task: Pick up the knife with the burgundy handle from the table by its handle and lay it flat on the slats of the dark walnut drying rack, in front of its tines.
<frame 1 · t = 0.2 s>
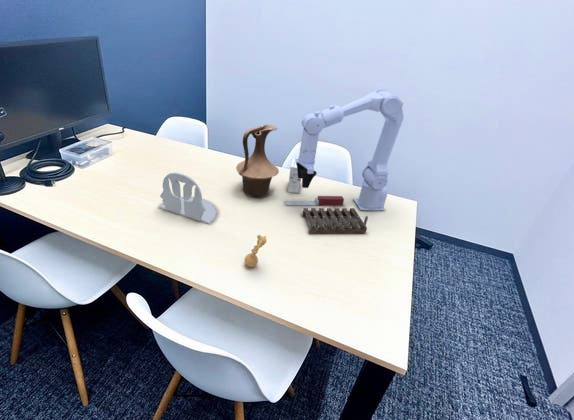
hand: (302, 182, 126), 10 cm above the table, tool pointing down, fingers open, 7 cm apart
drying rack: (332, 224, 121), on the table
pitcher: (255, 191, 139), on the table
ornament: (192, 208, 126), on the table
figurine: (253, 266, 100), on the table
knife: (329, 204, 133), on the table
ink cartridge box: (293, 188, 143), on the table
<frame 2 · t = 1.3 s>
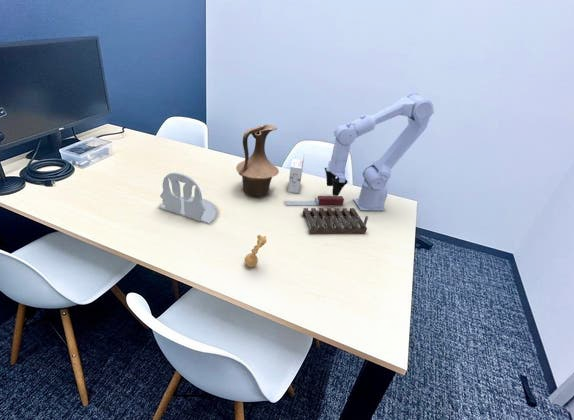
hand: (332, 190, 130), 6 cm above the table, tool pointing down, fingers open, 7 cm apart
nothing on the table moved.
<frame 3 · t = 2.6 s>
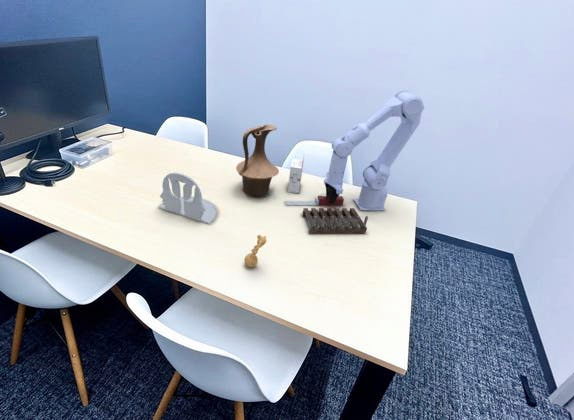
hand: (330, 201, 132), 1 cm above the table, tool pointing down, fingers closed on knife, 2 cm apart
knife: (329, 204, 133), on the table, touching gripper
everything else where it was.
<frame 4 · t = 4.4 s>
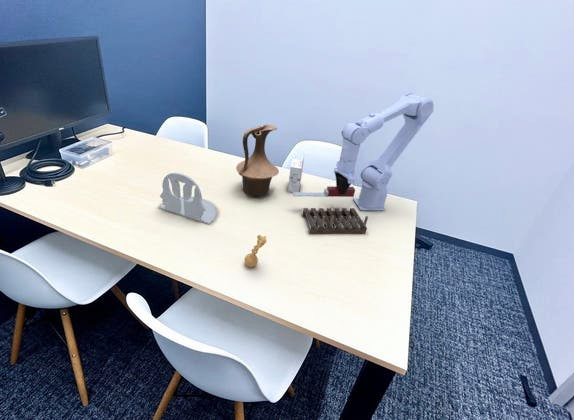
hand: (340, 191, 125), 8 cm above the table, tool pointing down, fingers closed on knife, 2 cm apart
knife: (339, 195, 125), point 7 cm above the table, touching gripper
everything else where it was.
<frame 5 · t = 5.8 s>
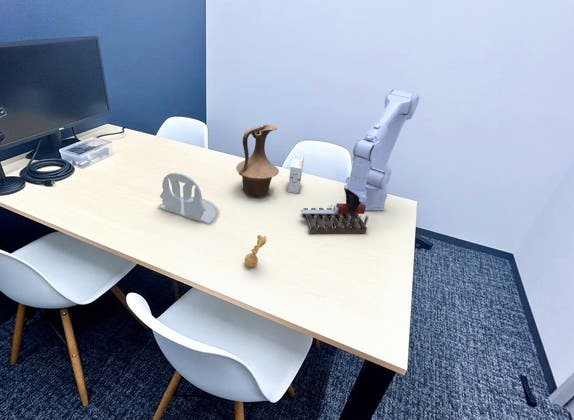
hand: (350, 208, 120), 6 cm above the table, tool pointing down, fingers closed on knife, 2 cm apart
knife: (349, 212, 121), point 4 cm above the table, touching gripper
everything else where it was.
when the fingers open (4 cm above the table, at t = 6.5 s): knife stays where it is, resting on drying rack.
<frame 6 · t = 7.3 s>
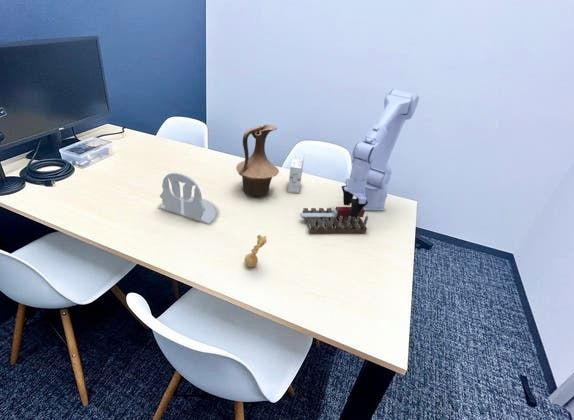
hand: (350, 210, 120), 5 cm above the table, tool pointing down, fingers open, 7 cm apart
knife: (348, 215, 121), point 3 cm above the table, touching drying rack
everything else where it was.
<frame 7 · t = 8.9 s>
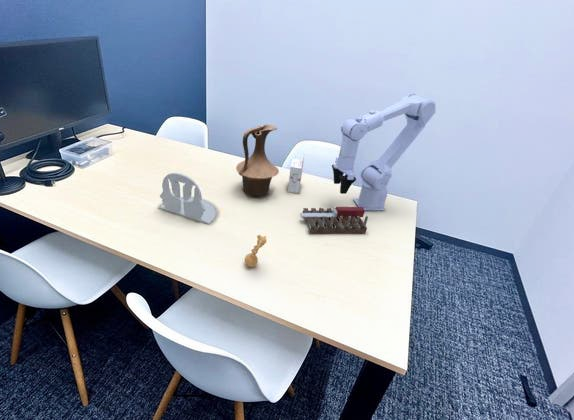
hand: (339, 188, 125), 9 cm above the table, tool pointing down, fingers open, 7 cm apart
nothing on the table moved.
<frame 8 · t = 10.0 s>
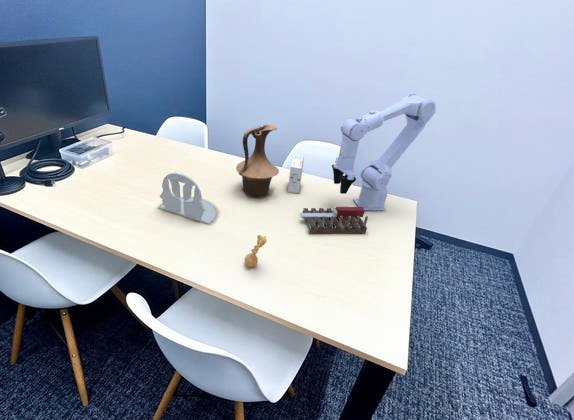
hand: (339, 188, 125), 9 cm above the table, tool pointing down, fingers open, 7 cm apart
nothing on the table moved.
at the end: knife inside the target area on the drying rack (1.3 cm from its centre), point 2.8 cm above the drying rack's base; knife touching drying rack; the gripper is holding nothing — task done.
